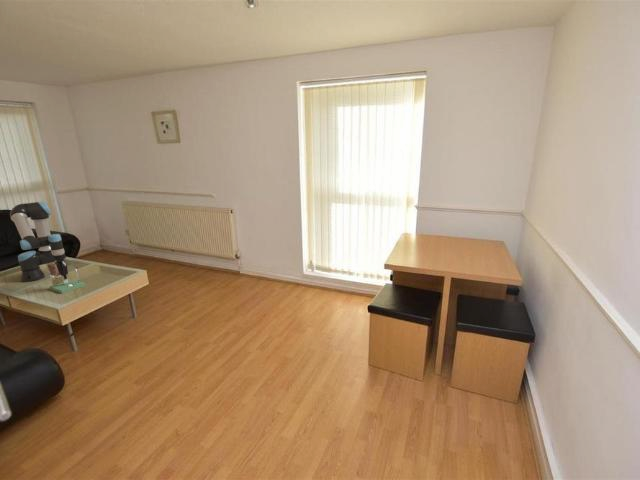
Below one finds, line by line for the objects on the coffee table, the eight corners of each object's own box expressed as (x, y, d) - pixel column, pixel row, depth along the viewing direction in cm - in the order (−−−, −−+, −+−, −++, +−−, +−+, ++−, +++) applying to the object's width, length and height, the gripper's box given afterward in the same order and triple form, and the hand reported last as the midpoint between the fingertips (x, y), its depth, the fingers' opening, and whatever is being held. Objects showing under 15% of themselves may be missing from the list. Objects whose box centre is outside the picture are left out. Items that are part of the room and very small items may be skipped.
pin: (78, 282, 250) (74, 266, 246) (79, 282, 250) (75, 265, 246) (80, 283, 248) (76, 266, 244) (81, 282, 249) (77, 266, 245)
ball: (66, 287, 244) (66, 284, 242) (71, 285, 247) (71, 282, 245) (68, 290, 243) (69, 287, 241) (73, 288, 246) (74, 285, 244)
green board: (50, 289, 244) (49, 286, 243) (73, 282, 257) (72, 279, 257) (62, 293, 236) (61, 290, 235) (85, 285, 249) (84, 282, 249)
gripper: (48, 254, 239) (56, 283, 246) (57, 256, 234) (64, 285, 240) (60, 251, 246) (67, 279, 252) (68, 253, 240) (75, 282, 246)
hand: (66, 282), depth 246 cm, fingers closed
